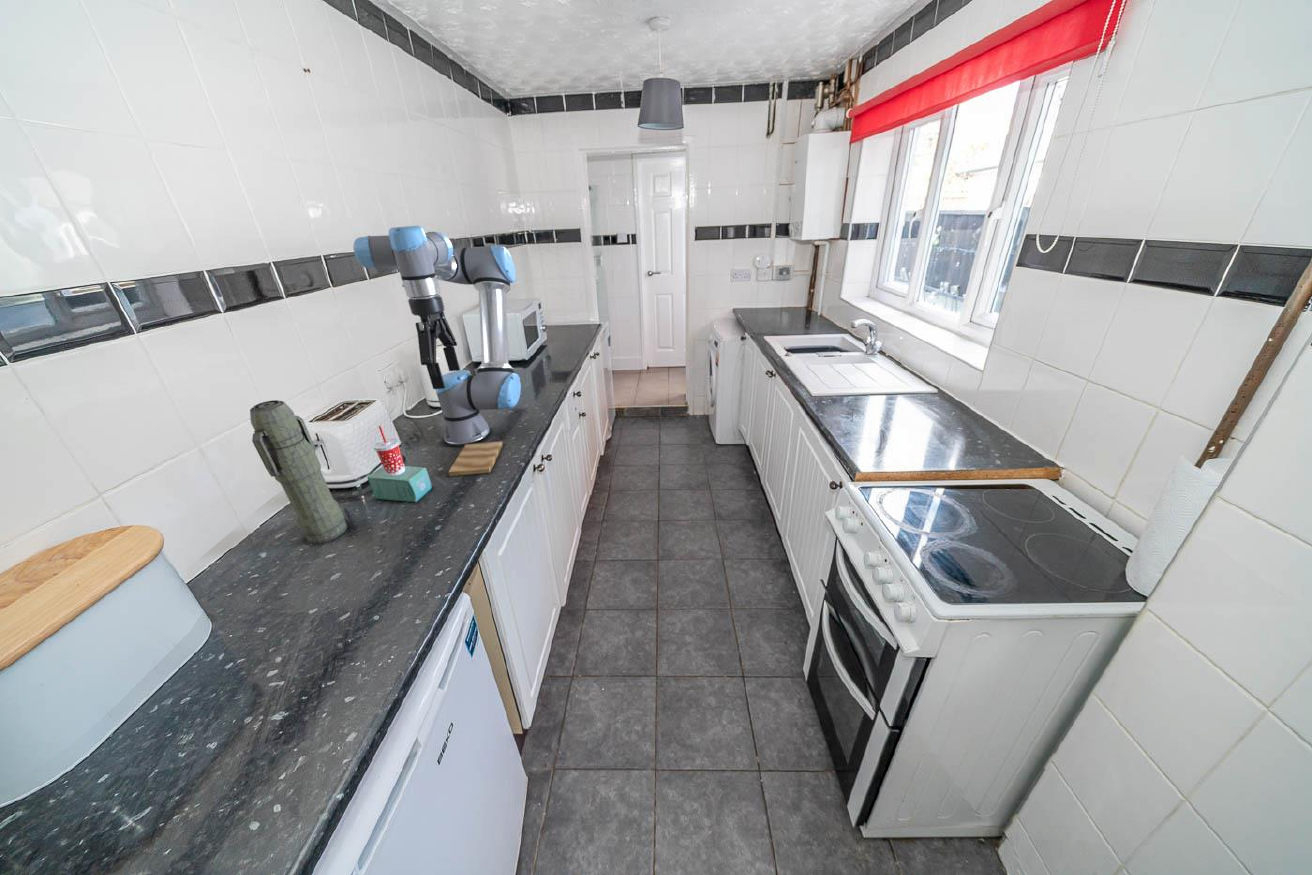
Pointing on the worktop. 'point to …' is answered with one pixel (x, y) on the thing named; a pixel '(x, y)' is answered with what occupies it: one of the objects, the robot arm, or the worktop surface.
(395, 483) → the box
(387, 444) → the beverage cup
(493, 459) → the chopping board
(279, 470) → the thermos
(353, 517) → the worktop surface
